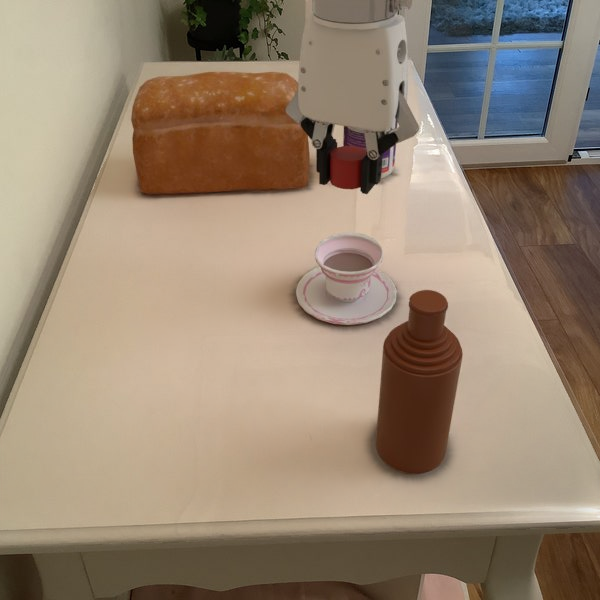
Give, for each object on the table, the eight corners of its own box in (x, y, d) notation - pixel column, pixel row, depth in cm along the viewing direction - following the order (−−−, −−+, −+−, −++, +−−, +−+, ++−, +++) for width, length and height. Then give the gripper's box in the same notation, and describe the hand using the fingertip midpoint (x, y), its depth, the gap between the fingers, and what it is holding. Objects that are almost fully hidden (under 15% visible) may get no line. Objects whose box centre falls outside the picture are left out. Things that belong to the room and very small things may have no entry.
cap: (374, 177, 72) (375, 150, 70) (357, 192, 69) (358, 164, 67) (341, 170, 74) (341, 143, 72) (323, 184, 71) (323, 156, 69)
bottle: (453, 431, 63) (479, 287, 53) (435, 483, 59) (460, 336, 48) (387, 411, 65) (400, 269, 55) (366, 460, 61) (375, 314, 50)
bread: (147, 158, 110) (130, 62, 101) (306, 152, 111) (305, 56, 102) (136, 200, 99) (116, 97, 90) (312, 192, 100) (311, 89, 91)
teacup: (385, 335, 74) (389, 290, 71) (282, 316, 77) (280, 272, 74) (404, 274, 83) (408, 231, 80) (311, 259, 86) (311, 218, 83)
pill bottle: (360, 155, 110) (363, 67, 101) (403, 167, 106) (410, 77, 97) (332, 174, 105) (333, 83, 96) (377, 188, 101) (382, 94, 92)
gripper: (457, 0, 60) (434, 183, 71) (289, -17, 66) (292, 155, 77) (432, 22, 55) (412, 217, 66) (252, 2, 60) (262, 183, 72)
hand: (348, 182), depth 71 cm, fingers closed on cap, 4 cm apart
